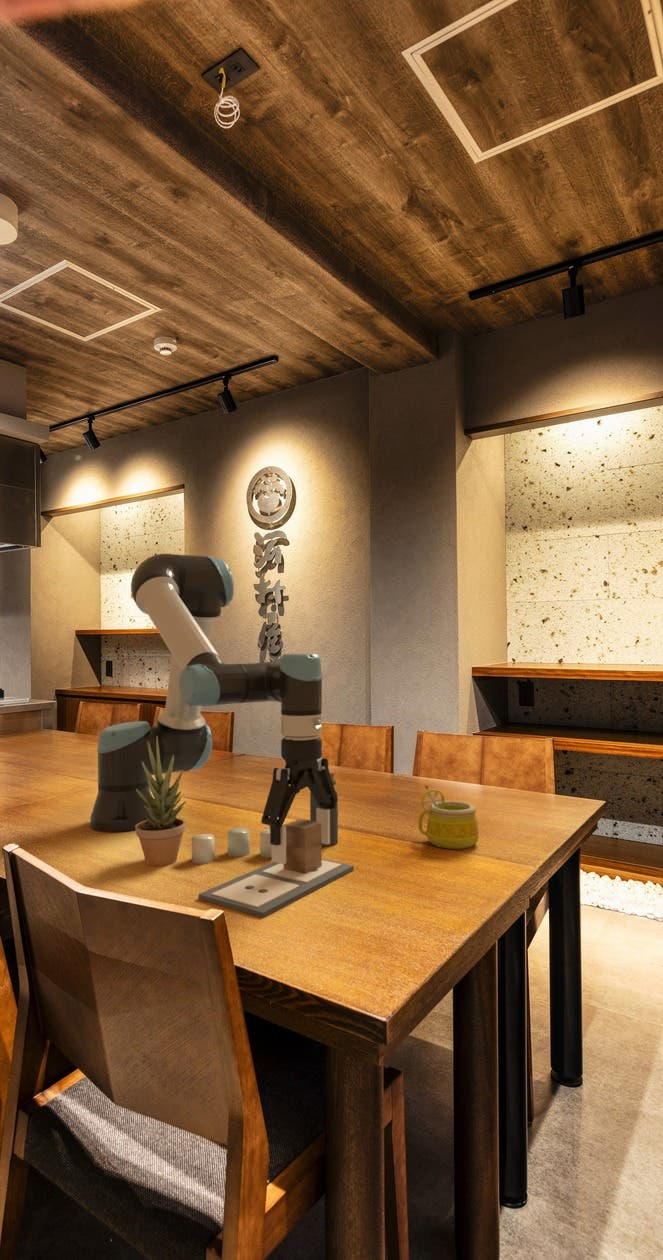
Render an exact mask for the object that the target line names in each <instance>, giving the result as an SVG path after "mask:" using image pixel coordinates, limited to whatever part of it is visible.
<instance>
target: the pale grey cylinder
mask: <svg viewBox="0 0 663 1260" xmlns="http://www.w3.org/2000/svg"><path fill="white" fill-rule="evenodd" d="M214 861H215V835H214V834H211V833H200V834H199V833H198V834H195V835H193V836H191V862H192V863H194V864H197V865H198V864H199V865H200V864H201V865H202V864H209V863H212V862H214Z"/></svg>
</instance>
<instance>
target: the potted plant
mask: <svg viewBox="0 0 663 1260" xmlns="http://www.w3.org/2000/svg"><path fill="white" fill-rule="evenodd" d="M148 751H149V756H150V760H151V765H152V769H153V772H154V775H151V774H150V773H149V771H148V769H147V768H146V766H145V765H144V763H143V762H142V765H143V768H144V771H145V773H146V775H147V777H148V779H149V780H148V785H149V788H150V792H151V794H150V796H151V797H149V796H148V795H146V794H145V793H143V792H142V793H141V792H140V791H139V790H138V789H136V791H137V793H138V794H139V795H140V797H141V798H142V799H143V800H144V801H145V802H146V804H147V805H148V806H149V808H148V807H147V806H145V805H144V807H145V808H146V809H147V811H148V812H149V815H150V817H151V818H152V819H150V818H149V817H148V816H146V817H147V819H148V820H147V821H143V822H141V823H138V824H137V825H136V826H135V828H136V830H135V835H136V836H137V838H138V840H139V843H140V846H141V849H142V852H143V855H144V861H145V863H146V864H147V865H148V866H150V867H151V866H152V867H161V866H168V865H171V864H174V863H176V862H177V861H178V855H179V851H180V846H181V842H182V838H183V835H184V834H183V833H185V831H186V821H185V819H182V818H180V817H179V818H177V816H178V815H179V813H180V812H181V811H182V809H183V808H184V805H185V804H186V802H187V801H186V800H185V801H184V802H183V803H181V804H180V805H178V804H179V802H180V801H181V799H182V798H181V797H180V795H181V793H182V791H179V787H180V781H181V778H182V774H183V771H180V774H179V775H178V777H177V779H176V781H175V782H174V783H173V784H172V785H171V787H170V784H171V778H172V773H173V772H172V768H173V762H174V754H173V756H172V759H171V761H170V764H169V767H168V770H167V772H166V773H165V774H164V777H163V774H162V767H161V762H160V754H159V745H158V737H156V752H157V766H156V763H155V759H154V757H153V753H152V751H151V747H150V744H149V742H148ZM153 776H154V777H153ZM178 791H179V792H178ZM147 799H148V800H149V801H150V803H151V804H150V803H149V801H148V800H147ZM177 805H178V806H177ZM176 806H177V807H176Z"/></svg>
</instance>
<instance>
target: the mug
mask: <svg viewBox="0 0 663 1260" xmlns="http://www.w3.org/2000/svg"><path fill="white" fill-rule="evenodd" d="M424 788H425V789H426V790H427V791H425V792H424V793H423V795H422V797H421V800H420V804H421V807H422V809H423V811H422V812H421V813H420V814H419V817H418V821H417V822H418V823H417V824H418V830H419V832H420V833H421V834H422V835H424V836H426V837H427V840H428V842H430V843H431V844H432V845H433V846H436V847H439V848H443V849H448V850H449V849H450V850H459V849H460V850H463V849H467V848H471V847H473V846H475V845H476V844H477V843H478V840H479V838H480V835H479V825H478V824H479V823H478V818H477V815H476V811H477V809H476V808H475V806H474V805H473V804H471V803H468V802H464V801H457V800H445V796H444V794H443V793H442V791H440V790H438V789H435V788H433V789H429V785H428V784H425V785H424ZM431 792H434V796H433V795H432V793H431ZM439 794H440V796H441V798H440V799H436V798H437V796H438V795H439ZM426 796H427V797H429V799H430V801H429V800H428V801H425V800H424V799H425V797H426ZM425 804H430V805H429V807H428V808H427V809H426V808H425ZM427 814H428V817H427V825H426V830H424V828H423V819H424V816H425V815H427Z"/></svg>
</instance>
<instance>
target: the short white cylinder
mask: <svg viewBox="0 0 663 1260" xmlns="http://www.w3.org/2000/svg"><path fill="white" fill-rule="evenodd" d="M259 852H260V853H259V854H260V857H262V858H265V859H266V858H267V859H268V858H269V859H272V846H271V843H270V828H267V829H263V830H260V832H259Z"/></svg>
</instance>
